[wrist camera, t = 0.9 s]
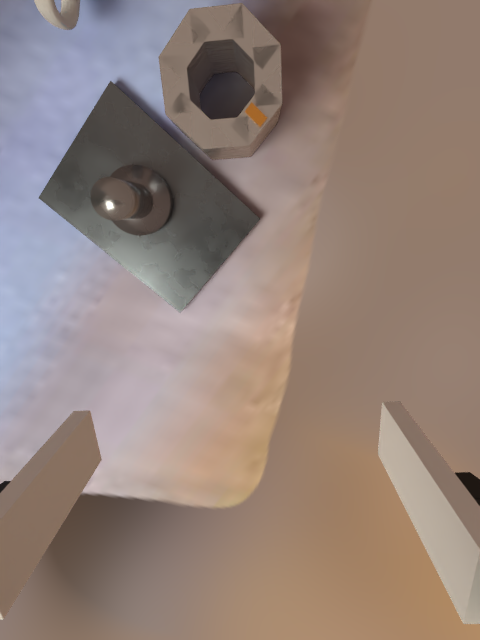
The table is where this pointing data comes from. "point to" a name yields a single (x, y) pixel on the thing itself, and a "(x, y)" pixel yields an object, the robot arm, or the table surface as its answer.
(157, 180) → the plate with peg
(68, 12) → the cup
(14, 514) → the robot arm
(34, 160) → the table surface
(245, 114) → the ring
